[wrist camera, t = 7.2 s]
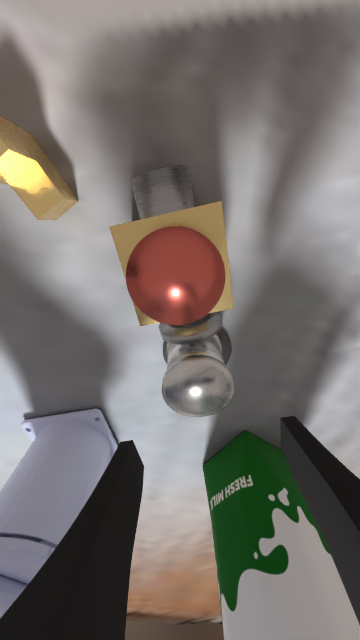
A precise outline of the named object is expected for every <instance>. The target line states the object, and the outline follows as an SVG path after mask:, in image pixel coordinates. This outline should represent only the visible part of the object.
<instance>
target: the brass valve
mask: <svg viewBox="0 0 360 640" xmlns="http://www.w3.org/2000/svg"><path fill="white" fill-rule="evenodd" d="M131 185H132V189H133V193H134V197H135V201H136V205H137V209H138V213H139V216H140V220H137V221H132V222H128V223H124V224H119V225H115V226H111V227H110V230H111V234H112V237H113V240H114V243H115V246H116V250H117V253H118V256H119V259H120V262H121V266H122V269H123V272H124V275H125V278H126V283H127V288H128V291H129V294H130V296H131V298H132V301H133V304H134V307H135V310H136V313H137V317H138V320H139V323H140V326H144V325H149V324H155V323H160V325H159V329H160V333H161V336H162V338H163V340H165V341H166V342H168V343H172V344H178V345H185V344H193V343H198V342H201V341H204V340H207V339H209V338H211V337H213V336H214V335H216V334H217V333H218V332H219V331H220V329H221V327H222V320H221V314H220V313H219V312H218V311H223V310H228V309H234V305H233V296H232V287H231V279H230V270H229V261H228V252H227V244H226V235H225V226H224V217H223V208H222V201H219V202H214V203H210V204H206V205H201V206H197V207H195V203H194V197H193V190H192V184H191V178H190V171H189V167H188V166H183V165H179V166H169V167H164V168H159V169H155V170H152V171H148V172H145V173H143V174H140V175H138V176H136V177H134V178H133V179H132V180H131Z"/></svg>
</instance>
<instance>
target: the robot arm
mask: <svg viewBox="0 0 360 640" xmlns="http://www.w3.org/2000/svg"><path fill="white" fill-rule="evenodd" d="M97 417H98V418H97ZM280 421H281V448H282V450H283V453H284V456H285V458H286V461H287V463H288V466H289V468H290V471H291V473H292V475H293V477H294V479H295V481H296V483H297V485H298V487H299V489H300V491H301V493H302V495H303V497H304V499H305V502H306V504H307V506H308V508H309V510H310V512H311V514H312V516H313V518H314V520H315V522H316V524H317V526H318V528H319V530H320V532H321V534H322V536H323V538H324V540H325V542H326V545H327V547H328V549H329V551H330V554H331V556H332V559H333V561H334V563H335V566H336V568H337V571H338V573H339V575H340V578H341V580H342V583H343V585H344V588H345V590H346V593H347V595H348V598H349V600H350V603H351V605H352V607H353V610H354V612H355V615H356V617H357V620H358V622H359V625H360V479H359V478H358V477H356V476H355V475H354V474H353V473H352V472H351V471H350V470H349V469H347V468H346V467H345V466H344V465H343V464H342V463H341V462H340V461H339V460H338V459H337V458H336V457H335V456H334V455H332V454H331V453H330V452H329V451H328V450H327V449H326V448H325V447H324V446H323V445H322V444H321V443H320V442H319V441H318V440H317V439H316V438H315V437H314V436H313V435H312V434H311V433H310V432H309V431H308V430H307V429H306V428H305V427H304V426H303V424H302V423H301V422H300V421H299V420H298V419H297V418H296V417H295V416H290V417H283V418H280ZM21 427H22V428H23V430H24V431H25V432H26V434H27V435H28V437H29V438H30V439H31V441H32V442H33V443H32V444H31V446H30V447H29V449H28V450H27V452H26V453H25V455H24V456H23V458H22V459H21V461H20V462H19V464H18V466H17V467H16V469H15V470H14V472H13V473H12V475H11V476H10V478H9V479H8V481H7V482H6V484H5V485H4V487H3V488H2V490H1V491H0V640H125V627H126V614H127V601H128V590H129V578H130V568H131V560H132V552H133V546H134V540H135V534H136V528H137V522H138V516H139V509H140V503H141V497H142V489H143V473H144V465H143V463H142V461H141V458H140V456H139V454H138V451H137V449H136V447H135V444H134V442H133V440H130V441H124V442H120V444H119V446H118V445H117V443H116V441H115V439H114V437H113V435H112V433H111V431H110V429H109V426H108V424H107V422H106V420H105V418H104V416H103V414H102V412H101V411H100V410H99V409H90V410H84V411H77V412H71V413H65V414H59V415H52V416H46V417H40V418H34V419H27V420H24V421H23V422H22V424H21Z"/></svg>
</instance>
